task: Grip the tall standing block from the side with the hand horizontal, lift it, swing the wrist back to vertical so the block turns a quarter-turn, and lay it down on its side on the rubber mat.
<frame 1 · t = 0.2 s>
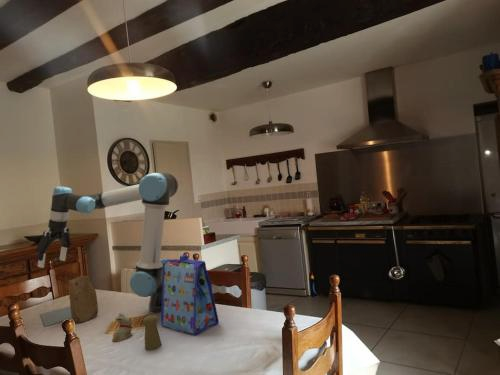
hand: (51, 263, 173), 28 cm above the table, tool tilted 15°, fingers open, 13 cm apart
cork: (153, 347, 132), on the table
block: (86, 319, 171), on the table
lunch bag: (189, 325, 149), on the table
mat: (59, 315, 181), on the table
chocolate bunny: (123, 338, 144), on the table
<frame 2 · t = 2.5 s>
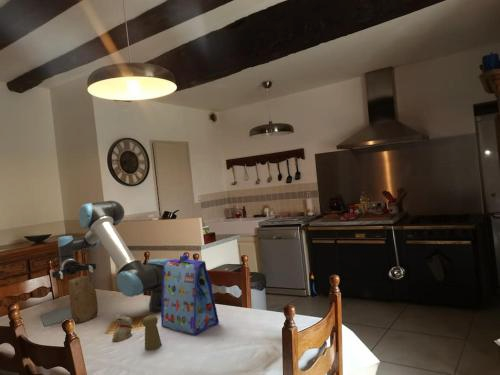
hand: (77, 273, 179), 21 cm above the table, tool horizontal, fingers open, 13 cm apart
nothing on the table moved.
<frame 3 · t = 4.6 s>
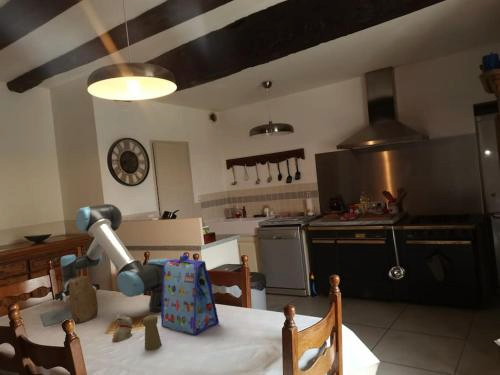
hand: (80, 294, 175), 11 cm above the table, tool horizontal, fingers open, 13 cm apart
nothing on the table moved.
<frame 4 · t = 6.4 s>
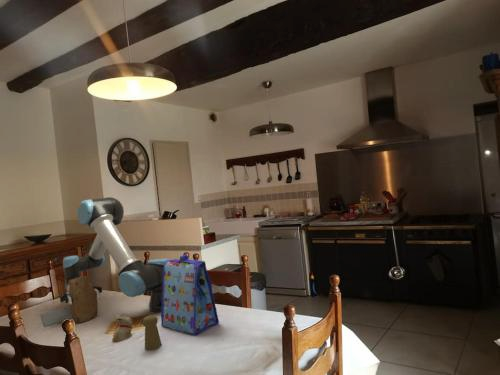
hand: (84, 297, 168), 11 cm above the table, tool horizontal, fingers closed on block, 11 cm apart
block: (86, 319, 172), on the table, touching gripper
everything else where it was.
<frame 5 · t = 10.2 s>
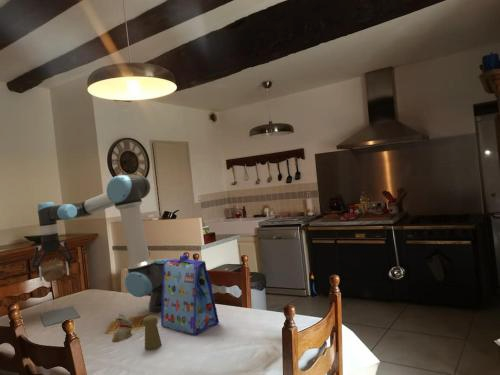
hand: (54, 277, 181), 19 cm above the table, tool pointing down, fingers closed on block, 11 cm apart
block: (51, 266, 190), point 23 cm above the table, touching gripper
everything else where it was.
when the fingers open (3 cm above the table, at t = 13.2 s): block drops 2 cm, resting on mat.
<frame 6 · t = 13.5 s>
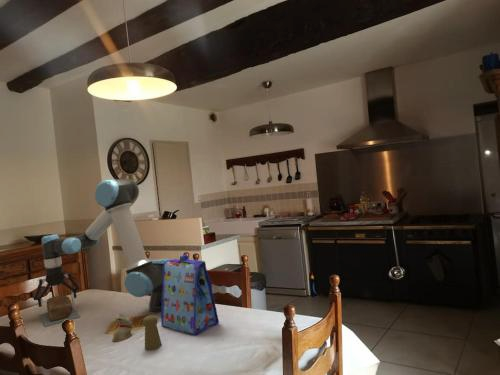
hand: (58, 308, 181), 3 cm above the table, tool pointing down, fingers open, 13 cm apart
block: (57, 302, 191), point 4 cm above the table, touching mat
everything else where it was.
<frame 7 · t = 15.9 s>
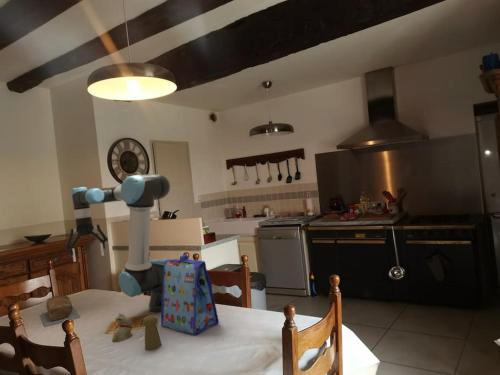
hand: (89, 258, 188), 26 cm above the table, tool pointing down, fingers open, 13 cm apart
nothing on the table moved.
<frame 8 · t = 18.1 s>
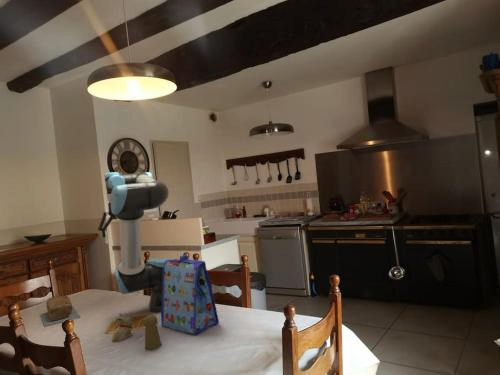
hand: (120, 241, 195), 32 cm above the table, tool pointing down, fingers open, 13 cm apart
nothing on the table moved.
at the end: block tilted 91°; block inside the target area (10.2 cm from its centre), point 4.2 cm above the table; the gripper is holding nothing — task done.
